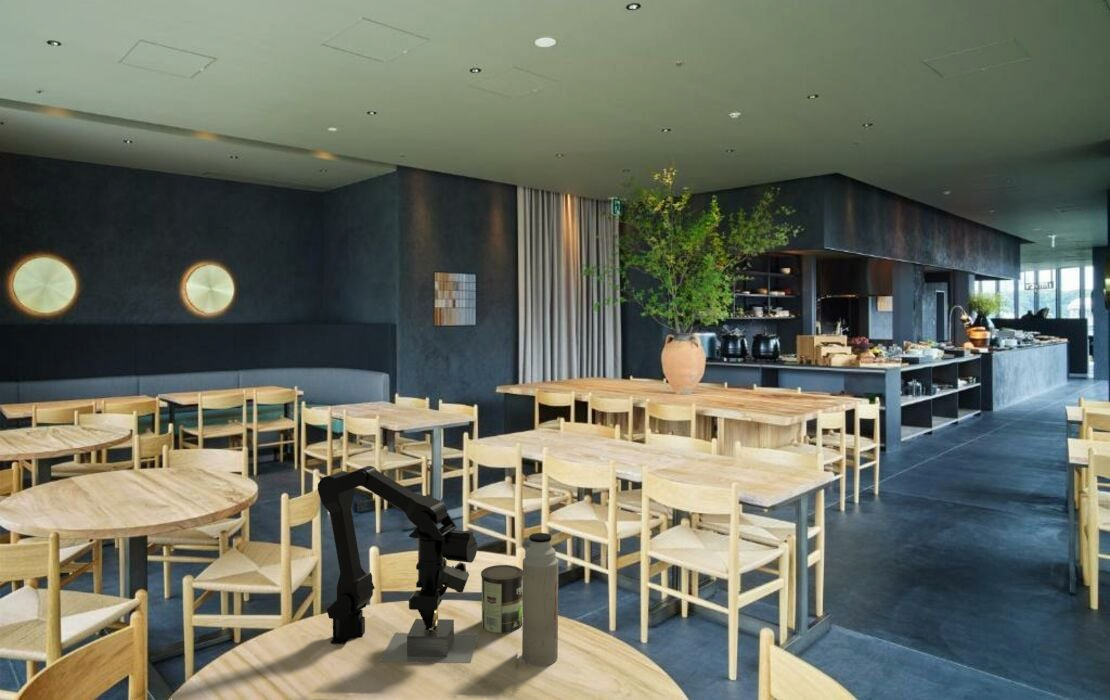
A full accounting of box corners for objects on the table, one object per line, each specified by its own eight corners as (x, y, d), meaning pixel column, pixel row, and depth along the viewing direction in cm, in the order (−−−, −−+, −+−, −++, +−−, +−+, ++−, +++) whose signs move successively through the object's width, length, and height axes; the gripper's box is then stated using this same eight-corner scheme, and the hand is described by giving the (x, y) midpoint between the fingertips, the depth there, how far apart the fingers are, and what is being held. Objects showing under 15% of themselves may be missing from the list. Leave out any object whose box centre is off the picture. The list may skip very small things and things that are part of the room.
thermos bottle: (560, 651, 164) (561, 531, 163) (553, 668, 157) (554, 542, 155) (526, 647, 166) (527, 528, 165) (518, 664, 158) (518, 539, 157)
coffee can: (524, 619, 182) (524, 564, 181) (521, 637, 171) (521, 579, 171) (483, 618, 182) (483, 564, 181) (478, 637, 171) (478, 579, 171)
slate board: (379, 665, 157) (379, 661, 157) (395, 637, 171) (395, 632, 171) (470, 667, 157) (470, 662, 157) (478, 638, 171) (478, 634, 171)
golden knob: (421, 650, 162) (421, 614, 162) (424, 642, 166) (424, 607, 165) (437, 650, 162) (437, 614, 161) (440, 642, 166) (440, 607, 165)
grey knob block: (407, 656, 159) (406, 636, 159) (415, 638, 168) (415, 618, 168) (447, 657, 159) (447, 636, 159) (453, 638, 168) (453, 619, 168)
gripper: (459, 572, 153) (459, 644, 154) (471, 544, 172) (471, 608, 173) (408, 571, 153) (408, 643, 154) (425, 543, 172) (425, 607, 173)
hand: (430, 624), depth 163 cm, fingers closed on golden knob, 3 cm apart
